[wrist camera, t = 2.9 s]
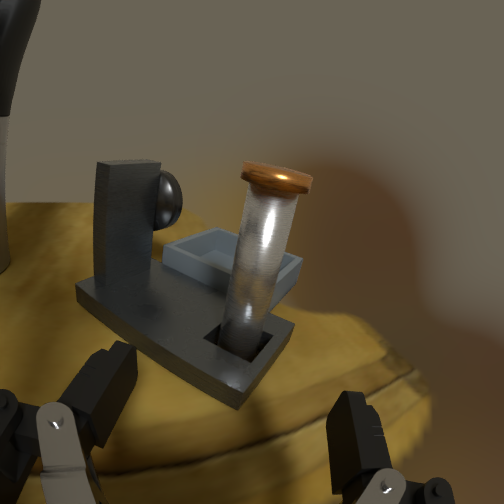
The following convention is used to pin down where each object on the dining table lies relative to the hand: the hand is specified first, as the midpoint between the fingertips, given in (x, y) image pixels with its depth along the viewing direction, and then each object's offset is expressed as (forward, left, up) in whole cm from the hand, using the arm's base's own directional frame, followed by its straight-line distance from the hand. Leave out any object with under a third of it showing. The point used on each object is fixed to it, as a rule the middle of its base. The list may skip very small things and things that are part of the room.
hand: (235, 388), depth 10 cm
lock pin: (-4, +10, -8) cm, 14 cm away
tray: (-11, +22, -8) cm, 26 cm away
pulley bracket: (-10, +10, -8) cm, 16 cm away
